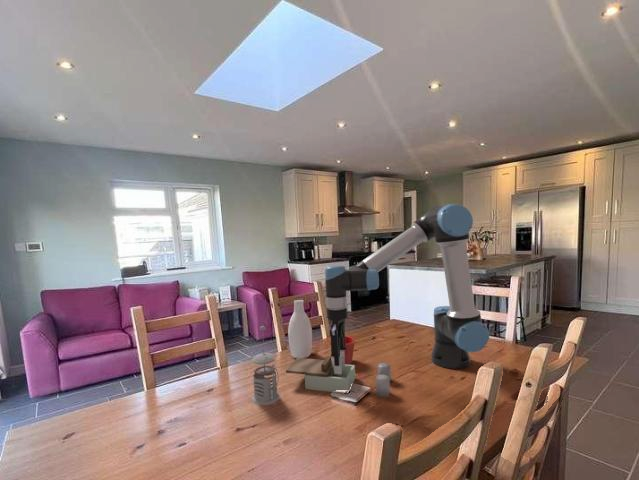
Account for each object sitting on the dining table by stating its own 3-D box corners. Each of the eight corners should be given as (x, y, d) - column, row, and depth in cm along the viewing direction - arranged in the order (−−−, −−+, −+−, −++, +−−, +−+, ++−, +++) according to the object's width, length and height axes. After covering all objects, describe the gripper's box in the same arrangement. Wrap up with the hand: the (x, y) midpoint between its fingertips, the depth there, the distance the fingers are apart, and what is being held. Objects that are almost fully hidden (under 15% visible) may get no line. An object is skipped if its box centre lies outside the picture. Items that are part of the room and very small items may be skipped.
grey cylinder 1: (346, 371, 118) (345, 357, 118) (343, 377, 113) (343, 362, 113) (334, 370, 119) (334, 356, 119) (331, 376, 115) (330, 360, 115)
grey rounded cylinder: (390, 391, 109) (389, 375, 109) (389, 397, 105) (388, 381, 105) (377, 389, 111) (376, 374, 111) (375, 396, 106) (374, 380, 106)
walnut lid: (335, 362, 123) (335, 354, 123) (327, 376, 111) (327, 367, 111) (297, 359, 127) (297, 351, 127) (285, 372, 116) (285, 363, 116)
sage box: (355, 378, 120) (354, 365, 120) (348, 393, 109) (348, 379, 109) (315, 374, 125) (315, 361, 125) (305, 388, 114) (304, 375, 114)
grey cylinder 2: (391, 378, 119) (390, 363, 119) (390, 383, 115) (389, 368, 115) (379, 377, 121) (378, 362, 120) (377, 382, 116) (377, 367, 116)
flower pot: (355, 356, 141) (354, 335, 141) (355, 367, 130) (354, 344, 130) (331, 357, 142) (330, 335, 142) (330, 367, 131) (329, 344, 131)
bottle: (317, 352, 148) (315, 299, 148) (304, 361, 139) (301, 304, 138) (298, 349, 154) (296, 297, 154) (284, 357, 145) (281, 302, 144)
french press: (269, 387, 116) (266, 320, 116) (289, 398, 108) (285, 326, 107) (246, 398, 109) (242, 326, 109) (265, 410, 101) (261, 333, 100)
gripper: (333, 302, 125) (335, 360, 126) (320, 313, 108) (323, 380, 109) (351, 302, 123) (354, 361, 123) (341, 314, 106) (344, 382, 106)
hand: (339, 370), depth 116 cm, fingers closed on grey cylinder 1, 5 cm apart
